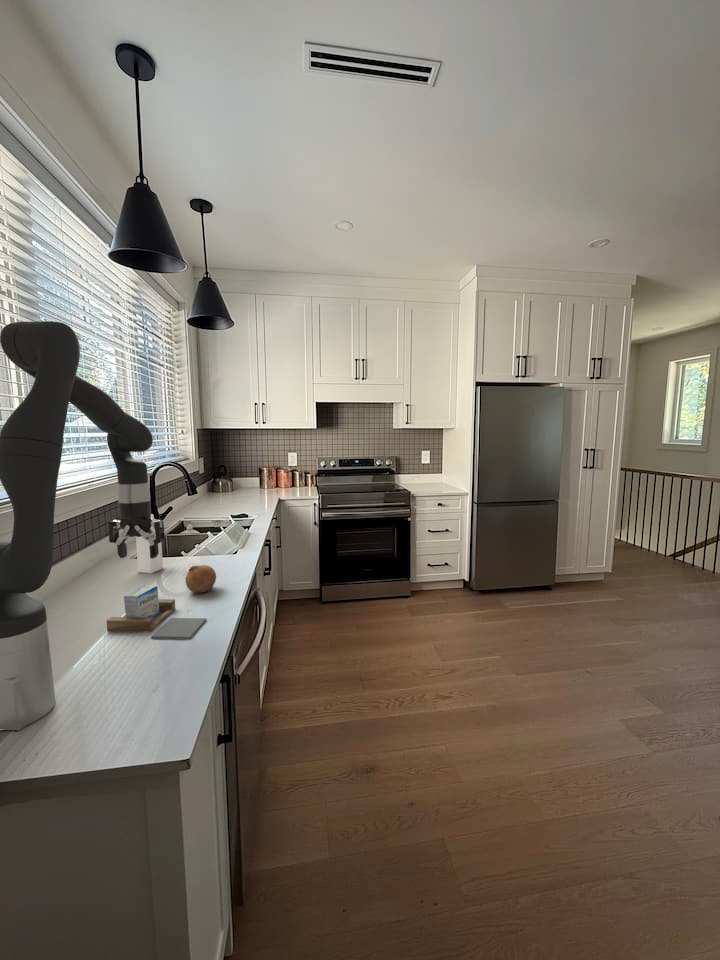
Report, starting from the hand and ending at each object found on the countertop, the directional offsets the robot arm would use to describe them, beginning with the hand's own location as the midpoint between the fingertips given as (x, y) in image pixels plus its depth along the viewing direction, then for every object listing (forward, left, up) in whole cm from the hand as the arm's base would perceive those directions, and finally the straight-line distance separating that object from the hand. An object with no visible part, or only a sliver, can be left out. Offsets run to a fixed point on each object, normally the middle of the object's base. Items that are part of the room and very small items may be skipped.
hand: (138, 557), depth 108 cm
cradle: (0, 0, -18) cm, 18 cm away
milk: (+39, +20, -18) cm, 47 cm away
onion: (+20, -8, -18) cm, 28 cm away
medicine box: (0, 0, -18) cm, 18 cm away
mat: (-5, -13, -18) cm, 23 cm away
